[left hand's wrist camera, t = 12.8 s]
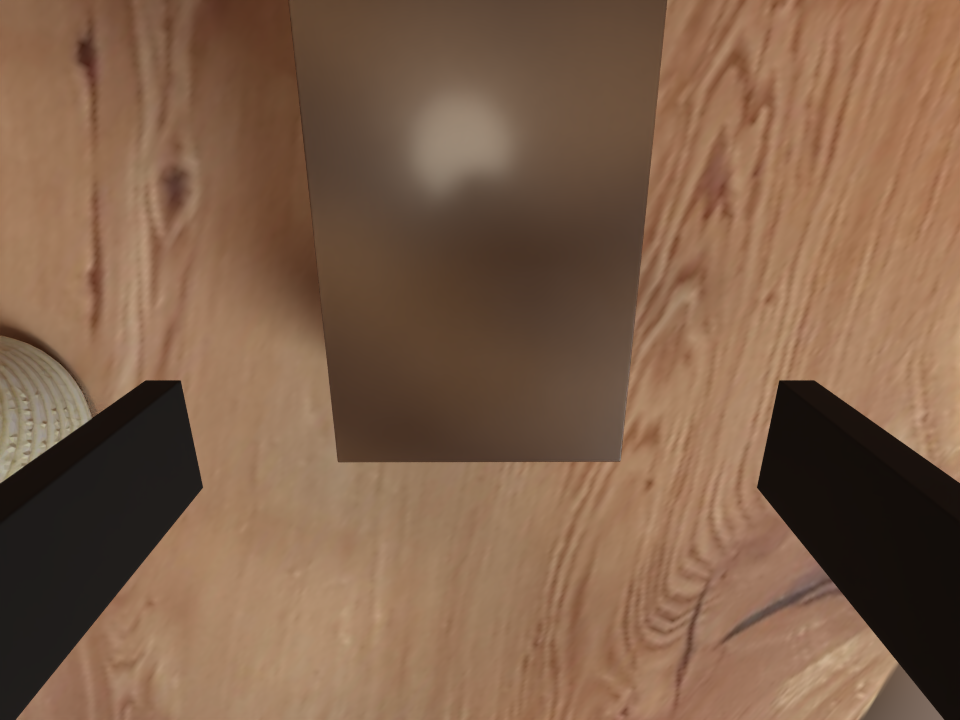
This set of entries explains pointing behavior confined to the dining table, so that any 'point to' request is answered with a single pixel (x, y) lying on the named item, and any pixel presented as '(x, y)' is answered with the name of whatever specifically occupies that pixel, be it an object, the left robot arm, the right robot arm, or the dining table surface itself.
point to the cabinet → (478, 219)
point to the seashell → (34, 404)
